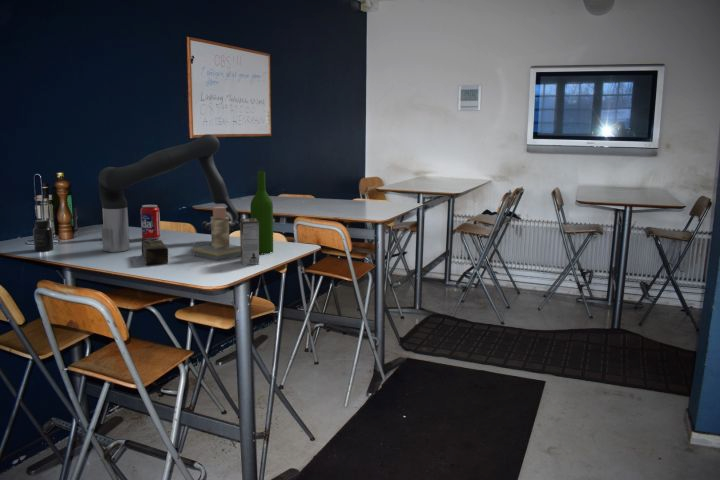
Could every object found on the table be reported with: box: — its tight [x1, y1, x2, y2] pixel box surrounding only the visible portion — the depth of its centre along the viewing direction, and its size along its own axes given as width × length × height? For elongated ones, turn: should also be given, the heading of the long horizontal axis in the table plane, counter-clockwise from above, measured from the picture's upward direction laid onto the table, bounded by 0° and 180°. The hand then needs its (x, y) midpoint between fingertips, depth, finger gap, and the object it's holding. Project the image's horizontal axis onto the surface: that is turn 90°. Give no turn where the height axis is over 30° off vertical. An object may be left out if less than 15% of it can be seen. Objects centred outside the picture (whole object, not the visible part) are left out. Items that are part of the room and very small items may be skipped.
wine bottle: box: [250, 171, 274, 254], centre depth 235 cm, size 9×9×32 cm
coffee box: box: [239, 217, 260, 266], centre depth 218 cm, size 9×6×16 cm
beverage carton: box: [141, 239, 169, 266], centre depth 221 cm, size 8×19×7 cm, turn 25°
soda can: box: [140, 204, 161, 241], centre depth 260 cm, size 8×8×15 cm
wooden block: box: [209, 216, 230, 250], centre depth 229 cm, size 6×6×12 cm
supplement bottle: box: [32, 219, 54, 252], centre depth 233 cm, size 7×7×12 cm
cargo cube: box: [212, 206, 227, 219], centre depth 227 cm, size 4×4×4 cm
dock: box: [193, 243, 241, 261], centre depth 230 cm, size 14×14×3 cm
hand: (219, 228), depth 227 cm, fingers open, 8 cm apart
